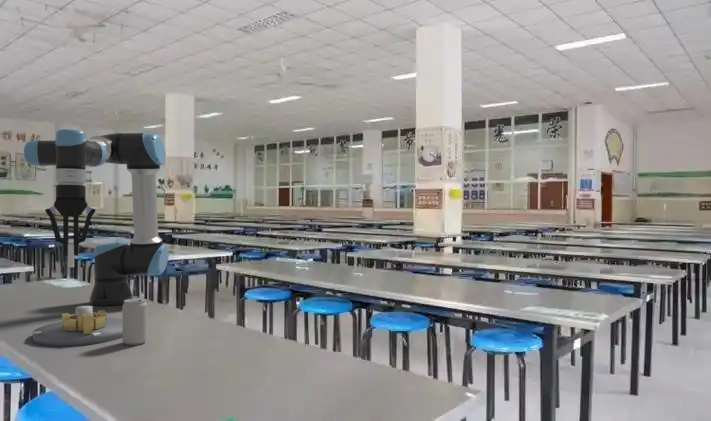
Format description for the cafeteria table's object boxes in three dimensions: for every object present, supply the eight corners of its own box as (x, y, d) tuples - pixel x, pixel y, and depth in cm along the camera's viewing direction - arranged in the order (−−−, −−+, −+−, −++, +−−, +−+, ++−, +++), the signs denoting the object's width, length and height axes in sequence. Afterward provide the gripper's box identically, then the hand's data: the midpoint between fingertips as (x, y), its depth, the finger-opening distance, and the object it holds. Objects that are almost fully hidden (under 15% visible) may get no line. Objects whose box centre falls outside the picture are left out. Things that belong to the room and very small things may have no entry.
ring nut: (61, 324, 161) (61, 308, 161) (102, 320, 167) (102, 304, 166) (64, 336, 147) (64, 318, 147) (109, 331, 153) (109, 314, 153)
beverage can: (138, 346, 146) (138, 302, 146) (117, 345, 147) (117, 301, 147) (152, 340, 152) (152, 298, 152) (131, 339, 154) (131, 297, 153)
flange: (115, 320, 177) (115, 296, 177) (145, 335, 158) (145, 308, 158) (24, 332, 160) (24, 305, 160) (44, 351, 140) (44, 321, 140)
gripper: (43, 183, 148) (43, 269, 148) (96, 184, 153) (96, 267, 154) (45, 184, 154) (45, 266, 155) (96, 185, 160) (96, 264, 160)
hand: (71, 266), depth 154 cm, fingers closed
